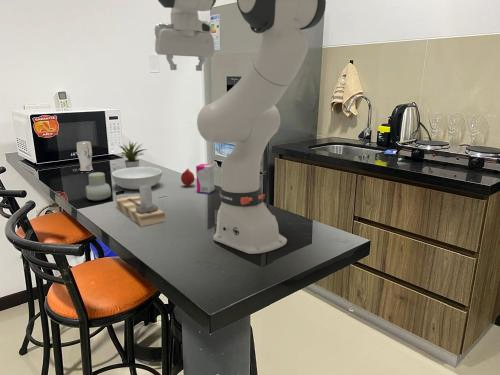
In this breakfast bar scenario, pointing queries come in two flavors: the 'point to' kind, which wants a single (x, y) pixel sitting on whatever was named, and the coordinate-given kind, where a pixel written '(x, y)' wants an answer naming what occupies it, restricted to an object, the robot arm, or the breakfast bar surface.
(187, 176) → the onion
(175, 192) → the breakfast bar surface
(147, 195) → the grey upright piece
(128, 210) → the tan flat bar
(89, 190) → the air freshener
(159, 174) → the serving bowl
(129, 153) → the house plant
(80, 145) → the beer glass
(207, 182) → the supplement box
